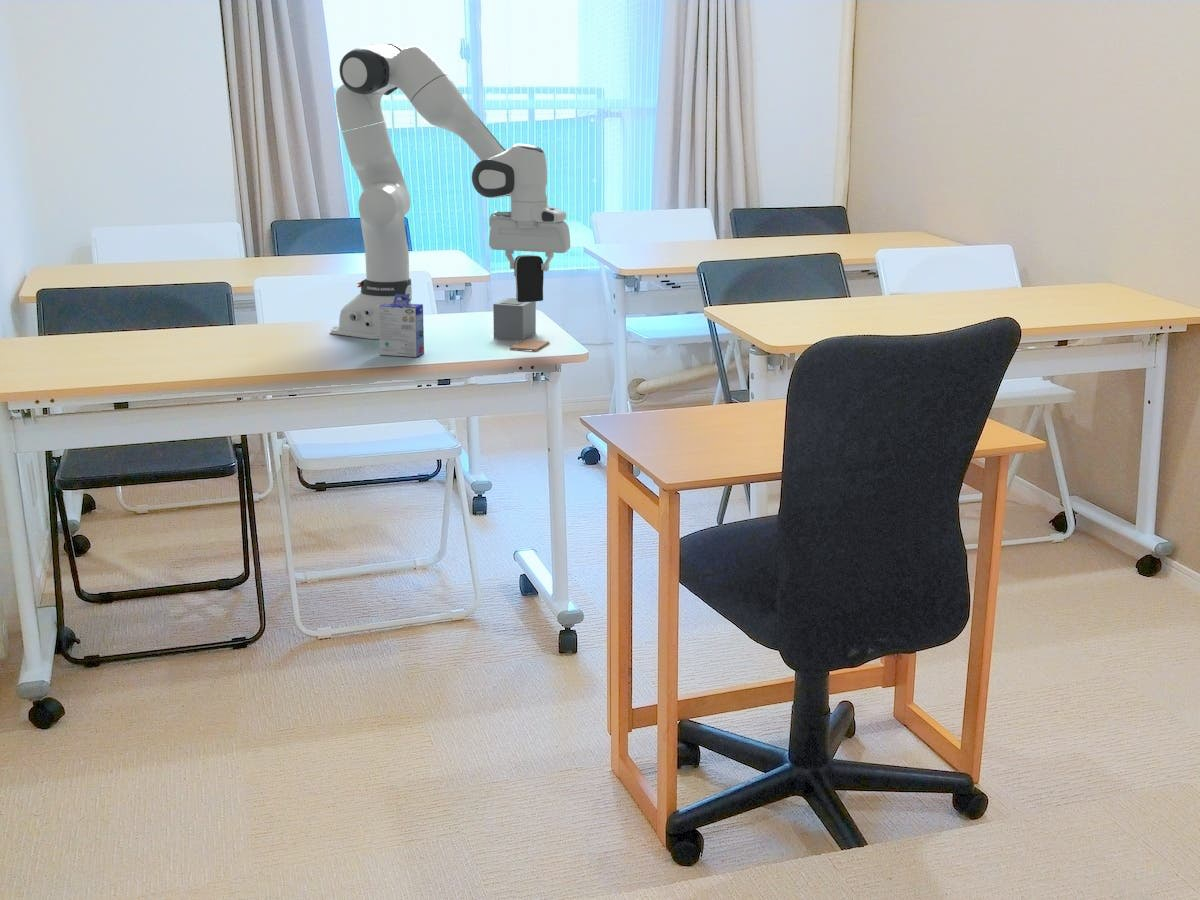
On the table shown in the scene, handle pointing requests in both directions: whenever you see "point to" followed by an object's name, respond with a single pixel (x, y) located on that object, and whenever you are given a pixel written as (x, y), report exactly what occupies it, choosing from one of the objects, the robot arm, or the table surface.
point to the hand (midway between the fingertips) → (529, 269)
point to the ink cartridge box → (401, 328)
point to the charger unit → (514, 319)
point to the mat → (529, 345)
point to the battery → (528, 278)
